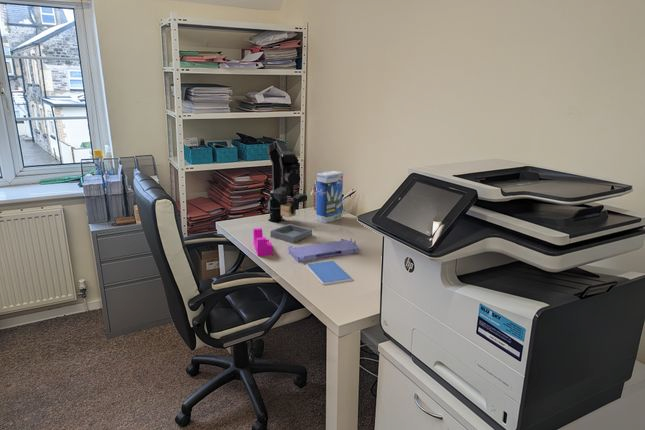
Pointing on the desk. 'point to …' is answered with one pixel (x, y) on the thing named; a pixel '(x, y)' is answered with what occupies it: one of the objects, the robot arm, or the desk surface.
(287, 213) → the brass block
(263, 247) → the toy block
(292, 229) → the tray
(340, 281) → the blue book
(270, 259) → the desk surface
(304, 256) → the lavender slotted plate
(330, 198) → the string lights box
